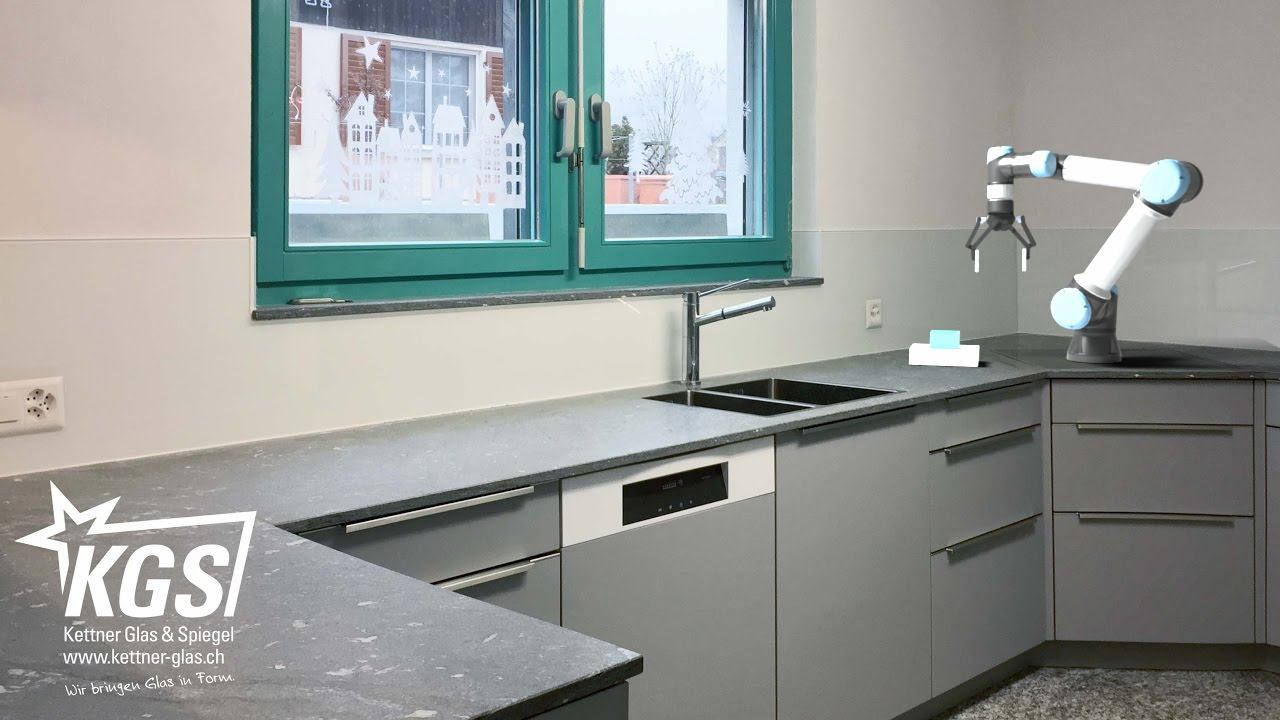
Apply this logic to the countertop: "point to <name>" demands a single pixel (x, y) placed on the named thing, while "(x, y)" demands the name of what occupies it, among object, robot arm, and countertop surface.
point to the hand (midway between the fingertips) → (1000, 271)
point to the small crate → (945, 340)
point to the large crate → (944, 356)
